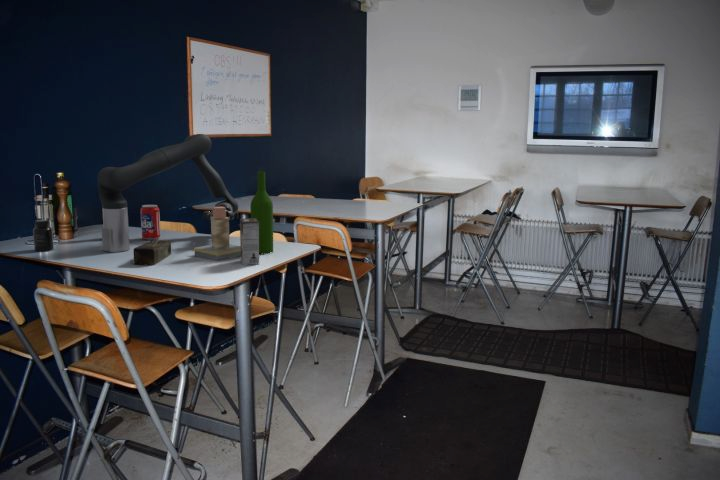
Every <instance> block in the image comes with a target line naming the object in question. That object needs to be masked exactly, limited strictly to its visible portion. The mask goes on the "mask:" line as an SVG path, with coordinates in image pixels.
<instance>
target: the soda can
mask: <svg viewBox="0 0 720 480" xmlns="http://www.w3.org/2000/svg"><path fill="white" fill-rule="evenodd" d="M160 218H161V216H160V208H159V207H158V205H157V204H144V205H143V204H142V205H141V208H140V228H141V229H140V230H141V238H142V239H143V240H145V239H146V240H147V241H152V240H154V239H158V240H159V238H161V221H160V220H161V219H160ZM146 240H145V241H146Z"/></svg>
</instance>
